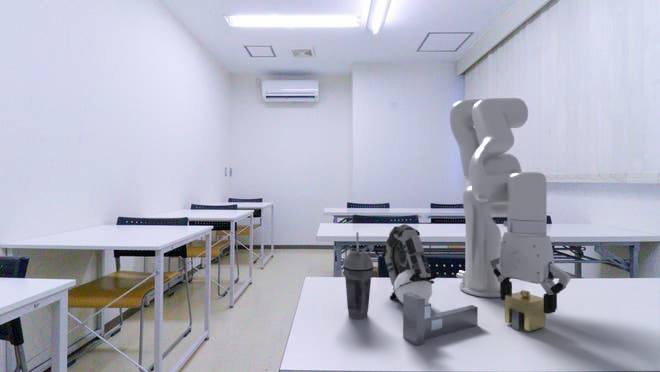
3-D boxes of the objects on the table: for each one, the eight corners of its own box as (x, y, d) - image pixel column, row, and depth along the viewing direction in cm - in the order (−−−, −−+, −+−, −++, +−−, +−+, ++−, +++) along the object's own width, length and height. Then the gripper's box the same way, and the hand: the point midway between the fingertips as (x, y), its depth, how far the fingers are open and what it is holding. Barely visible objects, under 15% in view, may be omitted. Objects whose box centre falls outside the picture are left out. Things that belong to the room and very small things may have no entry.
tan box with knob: (504, 321, 76) (505, 290, 76) (521, 317, 79) (521, 286, 79) (529, 331, 71) (529, 297, 71) (545, 326, 74) (546, 293, 74)
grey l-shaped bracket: (403, 337, 69) (403, 293, 69) (467, 320, 78) (467, 281, 78) (416, 345, 65) (416, 299, 65) (482, 327, 74) (482, 286, 74)
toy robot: (453, 293, 79) (424, 213, 91) (416, 297, 76) (391, 213, 88) (420, 315, 92) (398, 243, 105) (388, 319, 90) (369, 244, 102)
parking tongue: (511, 327, 74) (512, 309, 74) (531, 322, 77) (531, 304, 77) (518, 330, 73) (518, 312, 73) (537, 324, 76) (537, 306, 76)
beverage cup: (376, 311, 83) (376, 230, 83) (369, 323, 76) (370, 234, 76) (347, 308, 85) (348, 229, 85) (338, 319, 78) (339, 233, 78)
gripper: (481, 225, 80) (481, 297, 80) (558, 233, 65) (558, 322, 65) (501, 224, 84) (501, 293, 84) (579, 231, 69) (579, 315, 68)
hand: (526, 305), depth 74 cm, fingers open, 9 cm apart
